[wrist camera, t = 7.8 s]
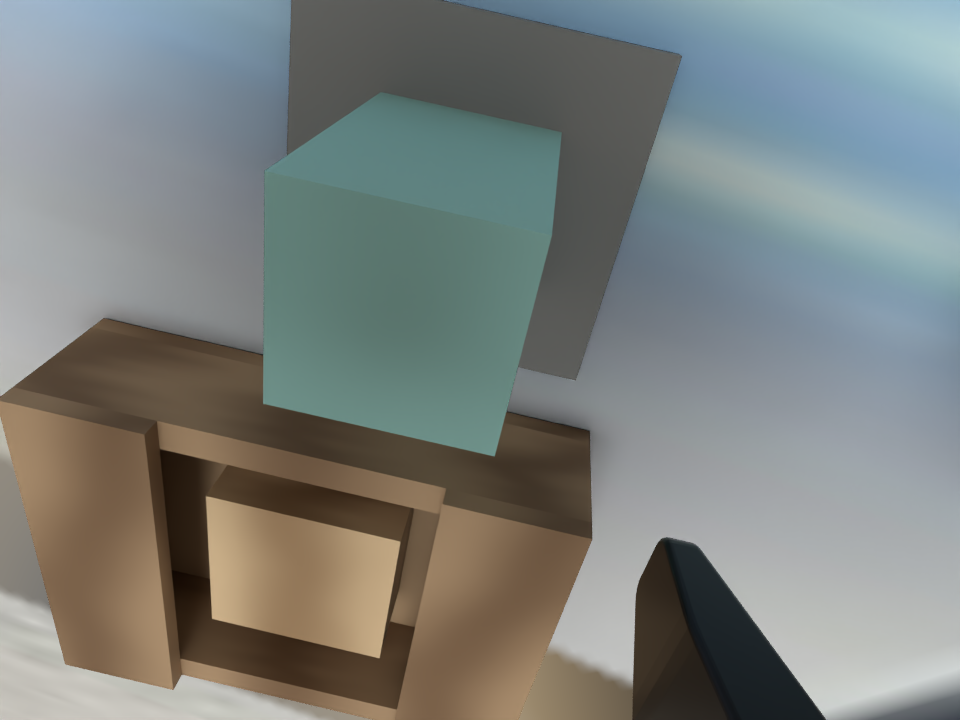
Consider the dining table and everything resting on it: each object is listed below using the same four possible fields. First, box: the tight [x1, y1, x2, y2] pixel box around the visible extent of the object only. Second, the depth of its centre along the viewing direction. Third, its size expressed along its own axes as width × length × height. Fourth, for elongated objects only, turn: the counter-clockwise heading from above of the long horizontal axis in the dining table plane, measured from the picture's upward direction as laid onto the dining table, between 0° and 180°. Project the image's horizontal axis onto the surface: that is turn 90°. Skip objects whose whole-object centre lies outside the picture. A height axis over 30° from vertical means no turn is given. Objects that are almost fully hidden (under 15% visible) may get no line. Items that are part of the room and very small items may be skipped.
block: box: [263, 92, 562, 456], centre depth 14 cm, size 4×4×7 cm
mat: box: [287, 0, 682, 380], centre depth 17 cm, size 9×9×1 cm
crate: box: [0, 318, 592, 720], centre depth 22 cm, size 16×12×5 cm
